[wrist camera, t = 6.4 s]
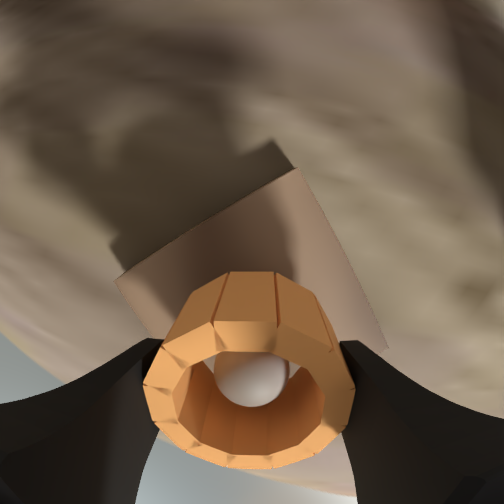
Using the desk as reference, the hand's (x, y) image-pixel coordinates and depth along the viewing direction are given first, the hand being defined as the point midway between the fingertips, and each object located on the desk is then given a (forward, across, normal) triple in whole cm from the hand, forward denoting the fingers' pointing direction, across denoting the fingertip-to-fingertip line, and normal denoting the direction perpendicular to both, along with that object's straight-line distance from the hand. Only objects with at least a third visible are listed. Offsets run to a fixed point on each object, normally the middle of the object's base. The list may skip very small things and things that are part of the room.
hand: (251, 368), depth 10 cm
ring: (+1, 0, 0) cm, 1 cm away
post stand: (+5, 0, 0) cm, 5 cm away
